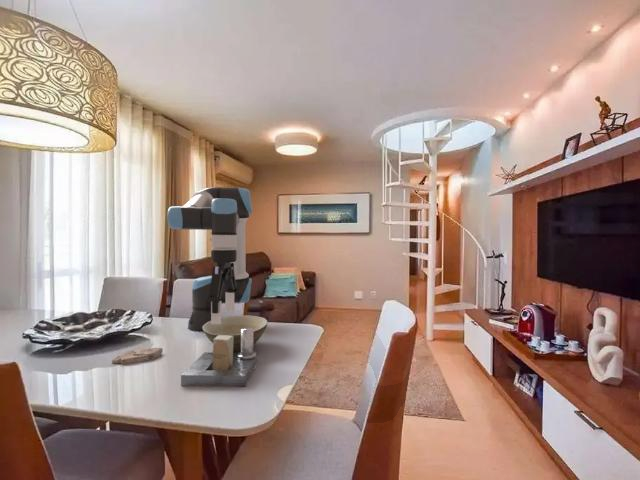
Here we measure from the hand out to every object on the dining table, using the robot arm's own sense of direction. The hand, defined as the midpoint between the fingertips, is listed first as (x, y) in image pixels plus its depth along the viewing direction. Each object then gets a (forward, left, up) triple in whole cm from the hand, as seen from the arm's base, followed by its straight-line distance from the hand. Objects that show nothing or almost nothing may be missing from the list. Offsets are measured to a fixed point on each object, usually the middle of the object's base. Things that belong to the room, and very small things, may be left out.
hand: (223, 317), depth 100 cm
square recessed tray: (0, 0, -17) cm, 17 cm away
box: (0, 0, -17) cm, 17 cm away
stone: (-11, -33, -18) cm, 39 cm away
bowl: (-22, -2, -17) cm, 28 cm away
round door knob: (-6, +6, -17) cm, 19 cm away
